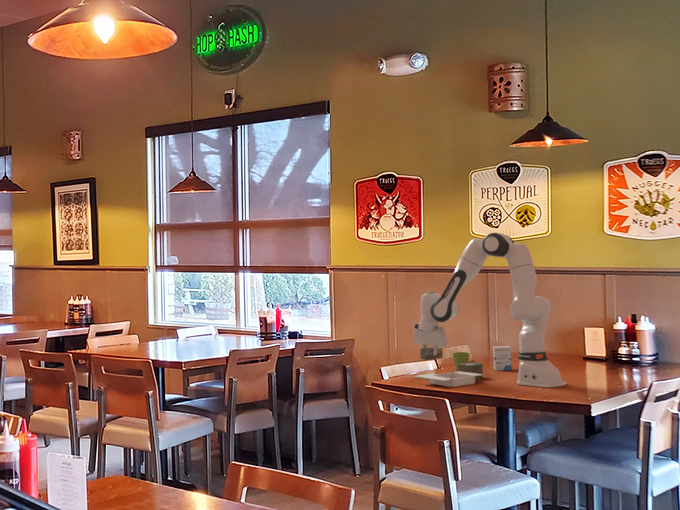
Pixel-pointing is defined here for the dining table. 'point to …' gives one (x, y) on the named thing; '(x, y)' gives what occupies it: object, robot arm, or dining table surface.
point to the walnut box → (430, 353)
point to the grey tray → (452, 378)
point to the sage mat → (423, 375)
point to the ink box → (502, 358)
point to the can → (471, 368)
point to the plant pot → (460, 358)
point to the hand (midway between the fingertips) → (430, 354)
